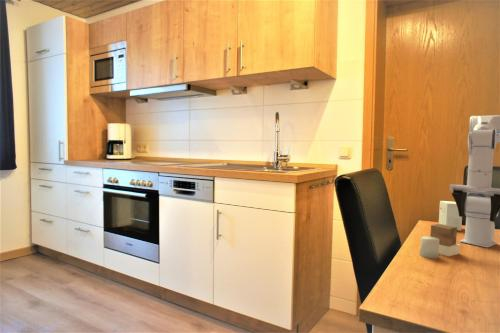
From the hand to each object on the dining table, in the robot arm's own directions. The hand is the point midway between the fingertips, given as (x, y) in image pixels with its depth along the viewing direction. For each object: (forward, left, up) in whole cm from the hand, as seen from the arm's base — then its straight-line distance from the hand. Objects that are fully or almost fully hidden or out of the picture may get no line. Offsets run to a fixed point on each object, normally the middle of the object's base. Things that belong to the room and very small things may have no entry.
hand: (476, 218), depth 94 cm
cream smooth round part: (+14, -7, -10) cm, 19 cm away
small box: (-34, -19, -11) cm, 40 cm away
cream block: (+6, -6, -11) cm, 14 cm away
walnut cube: (+6, -6, -8) cm, 12 cm away
